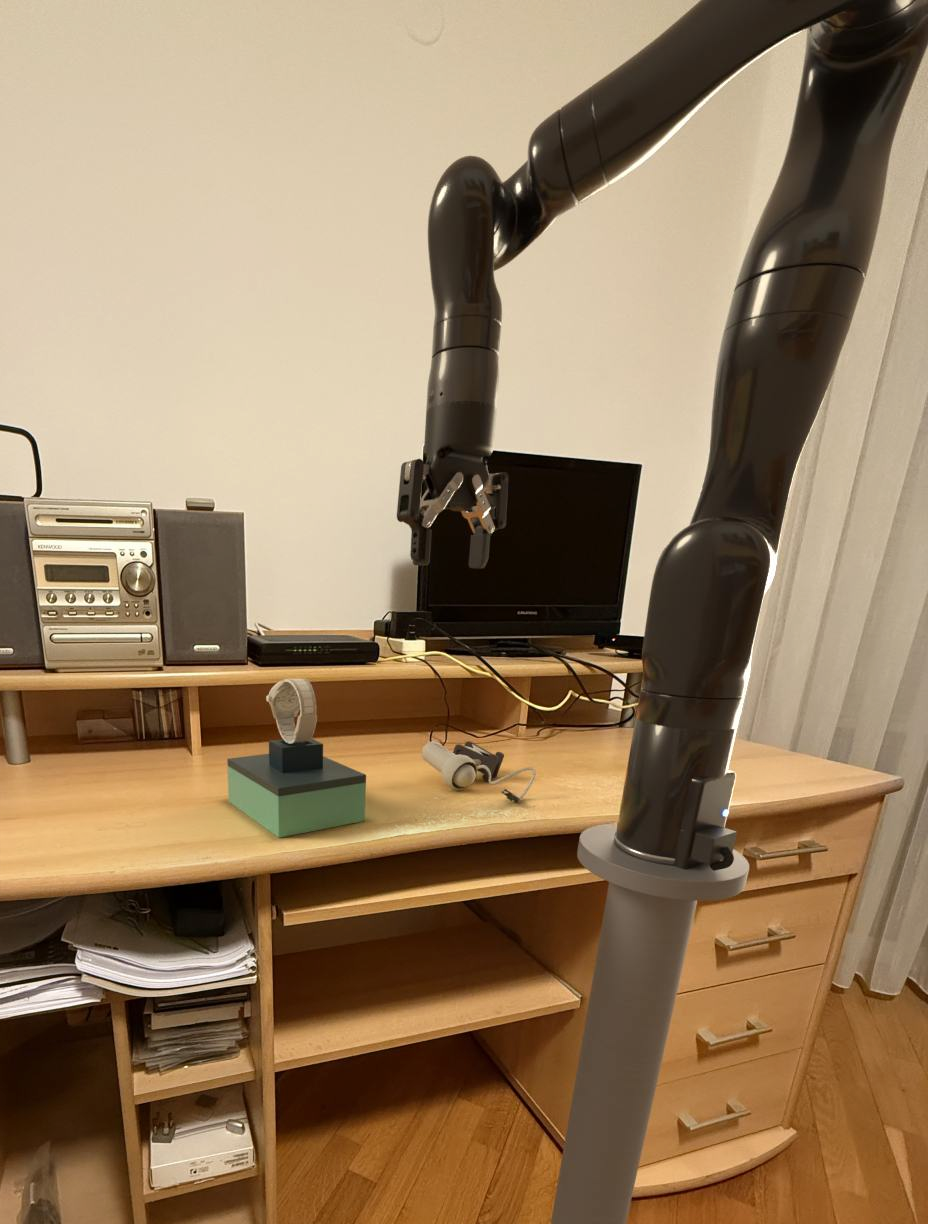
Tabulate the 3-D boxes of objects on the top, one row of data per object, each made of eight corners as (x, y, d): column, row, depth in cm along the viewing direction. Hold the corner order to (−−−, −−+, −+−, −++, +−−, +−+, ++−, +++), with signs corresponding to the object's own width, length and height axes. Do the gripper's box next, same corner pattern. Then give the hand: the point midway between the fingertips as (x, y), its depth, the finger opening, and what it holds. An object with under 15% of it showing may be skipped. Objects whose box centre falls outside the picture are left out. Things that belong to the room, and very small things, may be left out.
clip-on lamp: (544, 817, 90) (466, 761, 104) (560, 777, 87) (478, 725, 101) (483, 822, 84) (408, 762, 98) (498, 780, 81) (419, 724, 95)
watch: (301, 756, 85) (302, 673, 81) (329, 771, 78) (330, 681, 75) (262, 761, 82) (261, 675, 79) (287, 776, 75) (287, 684, 72)
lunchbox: (364, 820, 79) (366, 774, 77) (278, 837, 73) (278, 788, 71) (306, 789, 91) (306, 748, 89) (228, 801, 85) (227, 758, 83)
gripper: (432, 387, 62) (422, 563, 67) (533, 410, 69) (517, 568, 74) (387, 405, 68) (381, 565, 73) (484, 424, 75) (472, 569, 80)
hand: (449, 566), depth 74 cm, fingers open, 8 cm apart
